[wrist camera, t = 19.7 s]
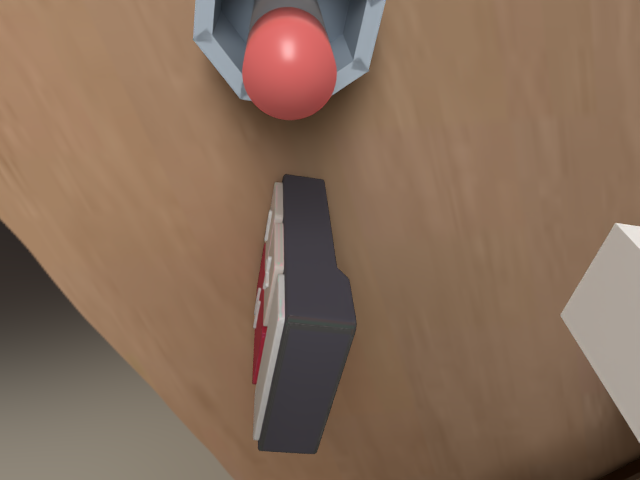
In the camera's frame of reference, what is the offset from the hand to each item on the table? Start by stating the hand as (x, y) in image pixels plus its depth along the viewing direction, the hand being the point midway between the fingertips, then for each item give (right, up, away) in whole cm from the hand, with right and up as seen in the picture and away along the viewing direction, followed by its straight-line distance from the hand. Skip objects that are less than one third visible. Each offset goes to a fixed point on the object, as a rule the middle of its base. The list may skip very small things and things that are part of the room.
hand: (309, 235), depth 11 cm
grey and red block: (-2, 0, +30) cm, 30 cm away
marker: (-2, +14, +20) cm, 24 cm away
